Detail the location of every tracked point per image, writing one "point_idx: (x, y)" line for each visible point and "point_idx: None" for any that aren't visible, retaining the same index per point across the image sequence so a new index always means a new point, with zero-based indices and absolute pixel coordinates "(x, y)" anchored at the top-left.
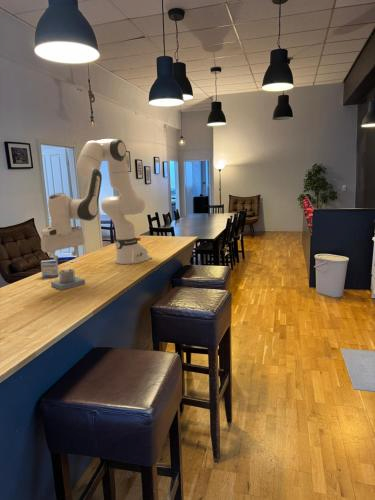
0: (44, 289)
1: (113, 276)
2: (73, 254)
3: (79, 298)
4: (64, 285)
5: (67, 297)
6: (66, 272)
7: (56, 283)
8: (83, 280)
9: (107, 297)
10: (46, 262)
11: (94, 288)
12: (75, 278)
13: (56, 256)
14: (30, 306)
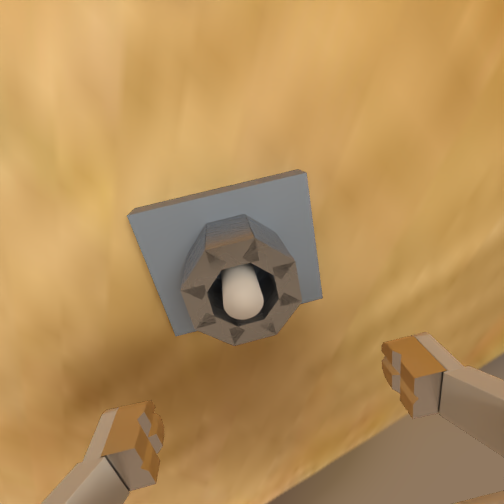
0: (85, 248)
1: (482, 253)
2: (393, 377)
3: (220, 446)
4: (195, 330)
5: (181, 419)
6: (227, 341)
7: (158, 271)
8: (314, 298)
9: (302, 473)
10: None
11: (314, 375)
12: (292, 238)
13: (131, 490)
14: (21, 444)
